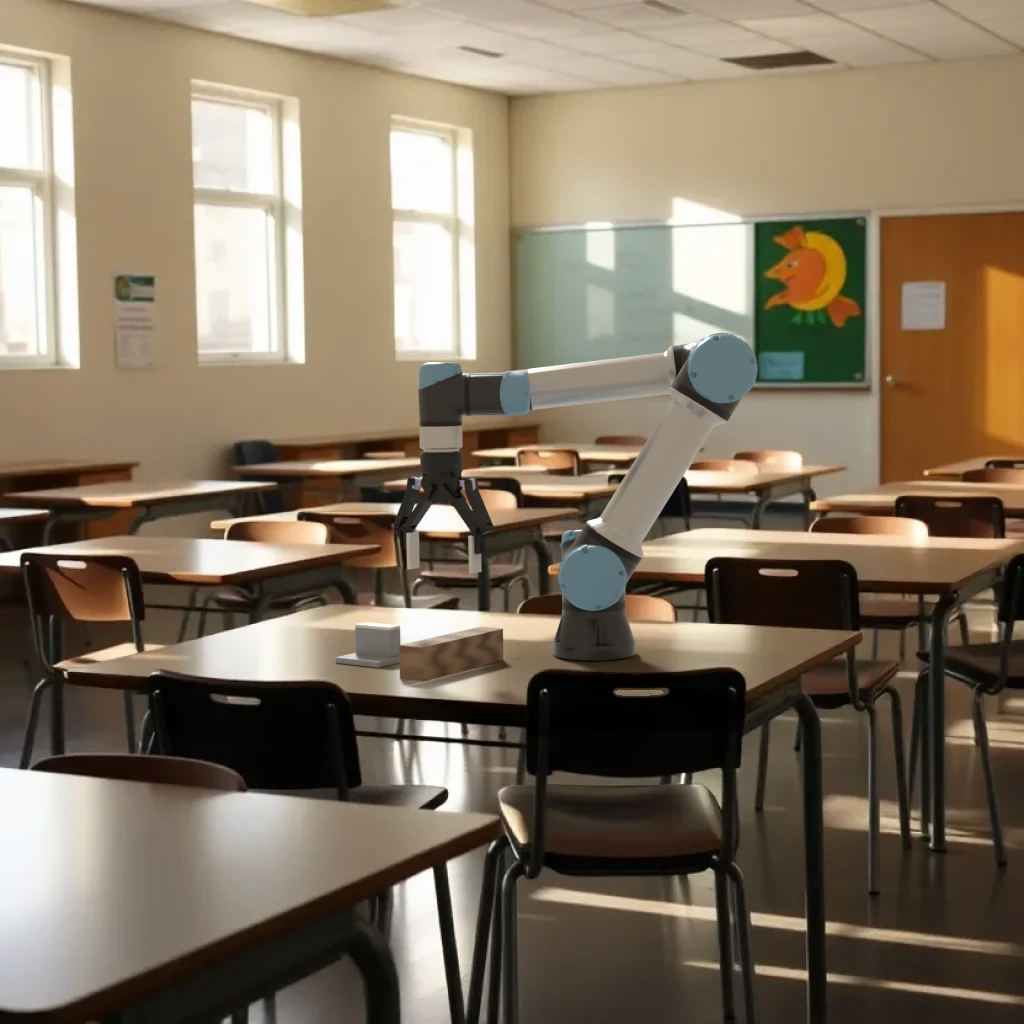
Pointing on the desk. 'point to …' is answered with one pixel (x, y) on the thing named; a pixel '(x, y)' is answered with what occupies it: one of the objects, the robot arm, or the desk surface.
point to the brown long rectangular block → (450, 653)
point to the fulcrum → (374, 645)
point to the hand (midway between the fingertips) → (443, 570)
